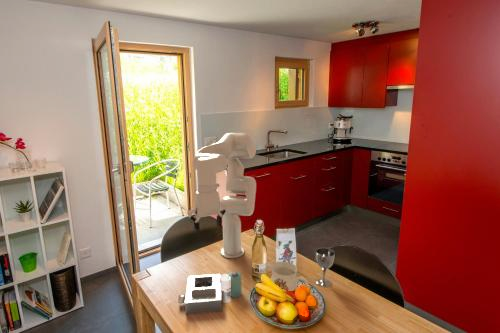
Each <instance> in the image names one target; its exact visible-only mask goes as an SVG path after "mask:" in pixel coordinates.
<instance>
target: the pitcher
mask: <svg viewBox="0 0 500 333" xmlns="http://www.w3.org/2000/svg"><path fill="white" fill-rule="evenodd" d="M265 264H266V266H267V268H269V269H270V271H271V278H270V281H271V280H272V281H273V282H274V283H275V284H276V285H278V286H279V287H281V288H282V289H284V290H286V291H294V290H295V289H296V288H297V289H298V286H299V284H298V283H299V281H303V282H304V285H305V287H306V286H307V287H308V288H309V280H307V278H306V277H304V276H303V275H302V276H297V272H298V267H297V265H295V264H293V263H291V262H288V261H272V262H271V261H268V262H266V263H265Z"/></svg>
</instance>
